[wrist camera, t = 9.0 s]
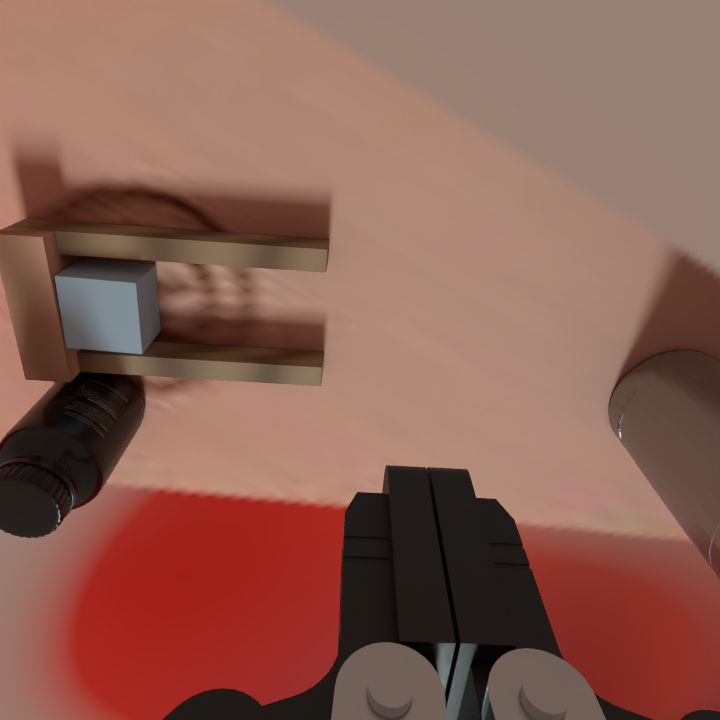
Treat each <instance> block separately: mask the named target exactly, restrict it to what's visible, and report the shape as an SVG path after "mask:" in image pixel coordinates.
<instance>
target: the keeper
mask: <svg viewBox="0 0 720 720" xmlns="http://www.w3.org/2000/svg"><path fill="white" fill-rule="evenodd" d="M55 282H56V289H57V295H58V301H59V307H60V313H61V320H62V326H63V332H64V338H65V344H66V348H75V349H87V350H99V351H110V352H122V353H134V354H143V353H144V351H145V350H146V349H147V348H148V346H149V345H150V344H151V342H152V341H153V340H154V339H155V337H156V336H157V335H158V333H159V332H160V331H161V327H160V313H159V300H158V286H157V273H156V265H155V264H144V263H133V262H123V261H112V260H101V259H90V258H81V259H79V260H78V261H76V262H75V263H73V264H72V265H70V266H69V267H67V268H66V269H64V270H63V271H61V272H60V273H58V274H57V275H55Z"/></svg>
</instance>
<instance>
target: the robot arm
mask: <svg viewBox="0 0 720 720" xmlns="http://www.w3.org/2000/svg"><path fill="white" fill-rule="evenodd" d="M609 421H610V424H611V427H612V430H613V431H614V433H615V434H616V436H617V437H618V438H619V440H620V441H621V443H622V444H623V446H624V447H625V448H626V450H627V451H628V453H629V454H630V455H631V457H632V458H633V460H634V461H635V463H636V464H637V466H638V467H639V469H640V470H641V471H642V473H643V474H644V476H645V477H646V478H647V480H648V481H649V483H650V484H651V485H652V487H653V488H654V490H655V491H656V492H657V494H658V495H659V496H660V498H661V499H662V501H663V502H664V503H665V505H666V506H667V508H668V509H669V510H670V512H671V513H672V515H673V516H674V517H675V519H676V520H677V522H678V523H679V524H680V526H681V527H682V529H683V530H684V531H685V533H686V534H687V536H688V537H689V538H690V540H691V541H692V543H693V544H694V545H695V547H696V548H697V550H698V551H699V552H700V554H701V555H702V557H703V558H704V559H705V561H706V562H707V563H708V565H709V566H710V568H711V569H712V570H713V572H714V573H715V574H716V576H717V577H718V578H719V580H720V362H718V361H717V360H716V359H714V358H712V357H710V356H709V355H707V354H704V353H700V352H697V351H686V350H681V351H672V352H667V353H664V354H660V355H657V356H655V357H653V358H650V359H648V360H646V361H644V362H643V363H641V364H640V365H638V366H637V367H635V368H634V369H632V370H631V371H630V372H629V373H628V374H627V375H626V376H625V377H624V378H623V379H622V381H621V382H620V384H619V385H618V386H617V388H616V389H615V391H614V394H613V396H612V398H611V401H610V406H609ZM529 565H530V564H529V561H528V558H527V556H526V553H525V550H524V549H523V548H522V541H521V538H520V535H519V532H518V530H517V527H516V524H515V521H514V519H513V518H512V517H511V516H510V515H509V513H508V512H507V511H506V510H505V509H504V508H503V507H502V505H501V504H500V503H499V502H498V501H497V500H496V499H486V498H476V496H475V492H474V489H473V485H472V481H471V478H470V474H469V472H468V470H466V469H450V468H431V467H428V468H427V469H426V468H425V467H408V466H389V465H386V468H385V474H384V483H383V492H382V493H363V492H357V494H356V495H355V497H354V498H353V500H352V502H351V503H350V505H349V506H348V508H347V510H346V511H345V521H344V537H343V550H342V566H341V584H340V611H339V636H338V656H337V658H336V660H335V662H334V664H333V667H332V668H331V669H330V671H329V672H328V673H327V675H326V676H325V677H324V678H323V679H322V680H321V681H320V682H319V683H317V684H316V685H315V686H313V687H312V688H310V689H308V690H307V691H305V692H303V693H301V694H298V695H295V696H293V697H290V698H286V699H283V700H280V701H277V702H274V703H270V704H267V705H264V706H261V705H260V704H259V703H258V701H256V700H255V699H254V698H252V697H251V696H249V695H247V694H245V693H243V692H240V691H237V690H233V689H213V690H208V691H204V692H201V693H199V694H197V695H194V696H192V697H190V698H189V699H187V700H186V701H184V702H183V703H181V704H180V705H179V706H177V707H176V708H175V709H174V710H173V711H171V712H170V713H169V714H168V715H167V716H166V717H165V718H164V719H163V720H653V719H650V718H647V717H644V716H641V715H639V714H636V713H633V712H630V711H627V710H625V709H622V708H620V707H617V706H615V705H612V704H611V703H609V702H607V701H605V700H603V699H602V698H600V697H599V696H598V695H596V694H595V693H594V692H593V691H592V689H591V687H590V686H589V684H588V683H587V682H586V680H585V679H584V678H583V677H582V675H581V674H580V673H579V672H578V671H577V670H576V669H574V668H573V667H572V666H571V665H570V664H568V663H567V662H565V661H564V659H563V657H562V655H561V653H560V650H559V648H558V645H557V642H556V639H555V636H554V633H553V631H552V628H551V625H550V622H549V619H548V616H547V613H546V610H545V607H544V605H543V602H542V599H541V596H540V593H539V590H538V587H537V584H536V581H535V578H534V576H533V573H532V570H530V568H529ZM681 720H720V712H717V711H711V710H699V711H694V712H691V713H689V714H687V715H685V716H684V717H683V718H682V719H681Z"/></svg>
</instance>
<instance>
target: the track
mask: <svg viewBox="0 0 720 720" xmlns="http://www.w3.org/2000/svg"><path fill="white" fill-rule="evenodd" d="M328 249H329V239H317V238H303V237H288V236H274V235H260V234H245V233H231V232H216V231H202V230H187V229H173V228H158V227H144V226H130V225H115V224H101V223H86V222H72V221H57V220H43V219H29V218H27V219H24V220H22V221H20V222H17V223H15V224H13V225H11V226H8V227H6V228H4V229H1V230H0V272H1V277H2V281H3V285H4V289H5V294H6V298H7V302H8V307H9V311H10V315H11V319H12V324H13V328H14V332H15V336H16V341H17V345H18V349H19V353H20V358H21V362H22V366H23V370H24V375H25V379H26V380H43V381H59V382H71V381H72V380H73V379H74V378H75V377H76V376H77V375H78V374H79V372H94V373H111V374H127V375H144V376H161V377H177V378H194V379H211V380H228V381H244V382H261V383H278V384H294V385H311V386H321V382H322V373H323V358H324V352H317V351H301V350H285V349H269V348H253V347H237V346H221V345H205V344H188V343H172V342H156V341H152V342H151V344H150V345H149V346H148V348H147V349H146V350H145V351H144V353H143V354H134V353H122V352H110V351H99V350H87V349H75V348H66V344H65V338H64V332H63V326H62V320H61V313H60V307H59V301H58V295H57V289H56V282H55V275H57V274H58V273H60V272H61V271H63V270H64V269H66V268H67V267H69V266H70V265H72V264H73V263H75V262H76V261H78V260H79V256H90V257H105V258H120V259H135V260H149V261H164V262H179V263H194V264H209V265H224V266H239V267H254V268H269V269H284V270H298V271H313V272H326V270H327V264H328Z"/></svg>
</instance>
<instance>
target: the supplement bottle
mask: <svg viewBox="0 0 720 720" xmlns="http://www.w3.org/2000/svg"><path fill="white" fill-rule="evenodd" d="M143 417H144V402H143V399H142V396H141V394H140V392H139V391H138V389H137V388H136V386H135V385H134V384H133V383H132V382H131V381H130V380H129V379H128V378H126V377H125V376H124V375H122V374H111V373H94V372H79V374H78V375H77V376H76V377H75V378H74V379H73V380H72V381H71V382H59V381H57V382H56V383H55V384H54V385H53V386H52V387H51V388H50V389H49V390H48V391H47V392H46V393H45V394H44V395H43V396H42V397H41V399H40V400H39V401H38V402H37V403H36V404H35V405H34V406H33V407H32V408H31V409H30V410H29V411H28V412H27V413H26V414H25V415H24V416H23V417H22V418H21V419H20V420H19V422H18V423H17V424H16V425H15V426H14V427H13V428H12V429H11V430H10V431H9V432H8V433H7V434H6V435H5V437H4V438H3V439H2V440H1V442H0V529H1V530H3V531H4V532H6V533H10V534H12V535H15V536H20V537H27V538H31V537H35V538H37V537H39V536H45V535H47V534H50V533H51V532H52V531H55V530H56V528H57V527H58V526H59V525H60V524H61V522H62V521H63V519H64V518H65V517H66V516H67V515H68V514H69V512H70V511H71V510H73V509H76V508H79V507H81V506H83V505H85V504H87V503H89V502H90V501H92V500H93V499H94V498H95V497H96V496H97V495H98V493H99V492H100V491H101V489H102V488H103V486H104V485H105V483H106V481H107V480H108V478H109V476H110V475H111V473H112V472H113V470H114V468H115V467H116V465H117V463H118V462H119V460H120V458H121V457H122V455H123V453H124V452H125V450H126V449H127V447H128V445H129V444H130V442H131V440H132V439H133V437H134V435H135V434H136V432H137V430H138V428H139V427H140V425H141V423H142V420H143Z"/></svg>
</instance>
